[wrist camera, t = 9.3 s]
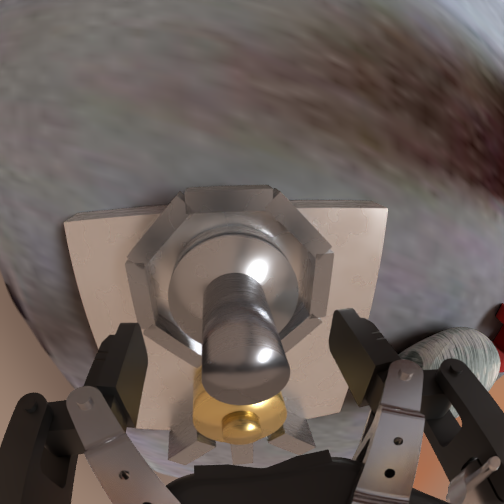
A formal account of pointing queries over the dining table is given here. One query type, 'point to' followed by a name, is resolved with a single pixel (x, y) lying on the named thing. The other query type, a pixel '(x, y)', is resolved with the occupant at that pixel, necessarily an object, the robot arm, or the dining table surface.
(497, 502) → the robot arm
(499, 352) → the mechanical linkage
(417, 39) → the dining table surface
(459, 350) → the streaked stone egg
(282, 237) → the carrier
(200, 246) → the silver knob
